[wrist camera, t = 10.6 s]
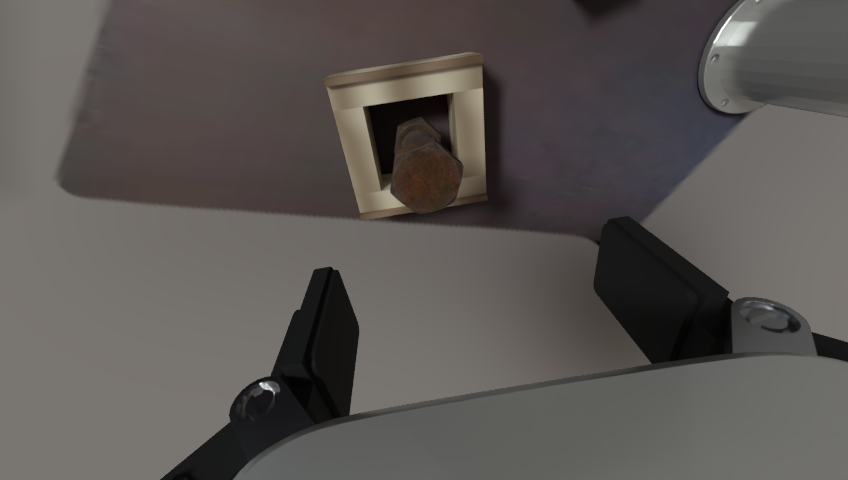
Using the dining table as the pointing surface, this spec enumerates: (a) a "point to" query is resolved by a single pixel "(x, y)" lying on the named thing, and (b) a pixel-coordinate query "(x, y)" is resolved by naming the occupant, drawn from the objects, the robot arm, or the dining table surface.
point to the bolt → (424, 168)
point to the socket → (404, 83)
